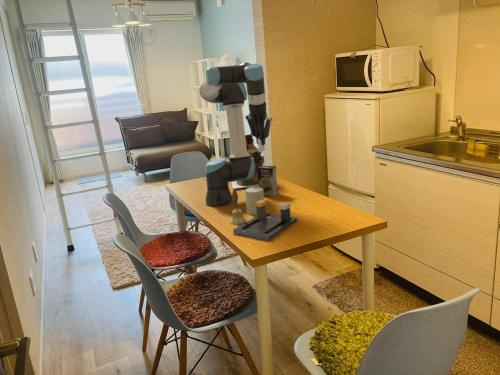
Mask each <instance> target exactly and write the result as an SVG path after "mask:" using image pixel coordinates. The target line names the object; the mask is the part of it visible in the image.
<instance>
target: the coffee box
mask: <svg viewBox="0 0 500 375" xmlns="http://www.w3.org/2000/svg"><path fill="white" fill-rule="evenodd" d="M277 181H278V180H277V165H263V166H260V167H258V182H259V187H261V188H263V195H264V197H265V196H267V197H274V196H276V195H277V194H278V182H277Z"/></svg>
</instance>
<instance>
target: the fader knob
mask: <svg viewBox="0 0 500 375" xmlns="http://www.w3.org/2000/svg"><path fill="white" fill-rule="evenodd" d="M267 205H268V204H267V200H265V199H264V200H259V201H257V202H255V206H256V208H257V214H256V216H257V220H258V221H262V220H263V219H265V218H266V213H267Z"/></svg>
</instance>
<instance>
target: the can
mask: <svg viewBox="0 0 500 375" xmlns="http://www.w3.org/2000/svg"><path fill="white" fill-rule="evenodd" d="M244 193H245V203H246V204H245V205H246V213H247V214H248V215H253V216H254V215H256V216H257V208H256V206H255V202H257V201H259V200H265V199H264V198H265V196H264V195H263V188H261V187H251V188H246V189H245V190H244Z"/></svg>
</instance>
